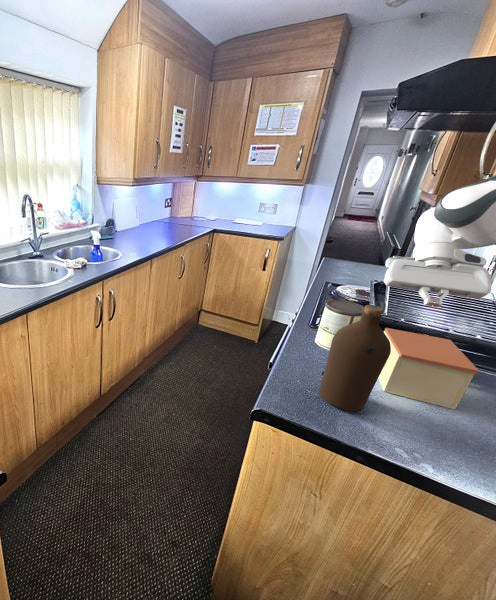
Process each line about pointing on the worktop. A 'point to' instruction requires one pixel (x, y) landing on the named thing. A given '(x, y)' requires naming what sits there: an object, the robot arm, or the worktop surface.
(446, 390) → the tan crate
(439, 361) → the lid
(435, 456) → the worktop surface
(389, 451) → the worktop surface
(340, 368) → the brown bottle
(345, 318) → the coffee can
